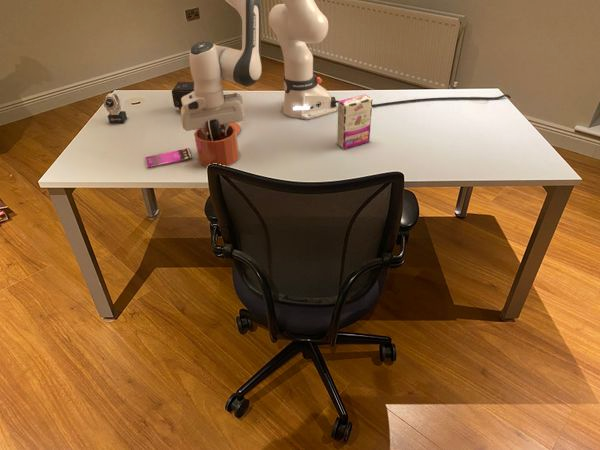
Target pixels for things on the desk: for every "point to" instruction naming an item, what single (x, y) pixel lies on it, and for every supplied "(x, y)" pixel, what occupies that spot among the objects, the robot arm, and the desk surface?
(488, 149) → the desk surface
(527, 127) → the desk surface
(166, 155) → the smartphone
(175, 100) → the camera
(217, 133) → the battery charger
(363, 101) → the candy bar box
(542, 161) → the desk surface
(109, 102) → the watch
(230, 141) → the pot
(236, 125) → the lid
